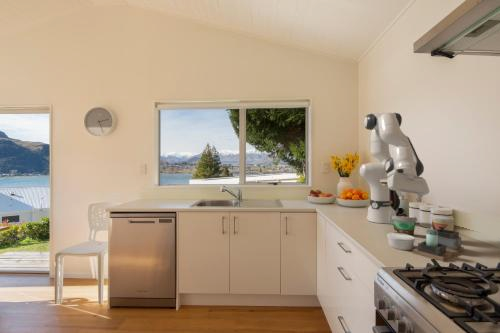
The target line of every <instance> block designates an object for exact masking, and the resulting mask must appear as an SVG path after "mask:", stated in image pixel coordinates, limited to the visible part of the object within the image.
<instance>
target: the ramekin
mask: <svg viewBox="0 0 500 333" xmlns="http://www.w3.org/2000/svg"><path fill="white" fill-rule="evenodd" d="M386 237H387V241H388V245H389V246H390V248H393V249H395V248H396V250H401V251H411V250H413V248H414V244H415V242H416V241H415V240H416V238H415V237H414V235H413V236H410V235H407V234H402V233H394V232H389V233H387V234H386Z"/></svg>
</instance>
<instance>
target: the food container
mask: <svg viewBox="0 0 500 333" xmlns="http://www.w3.org/2000/svg"><path fill="white" fill-rule="evenodd" d="M392 219H393V224H392V225H393V233H402V234H407V235H410V236H413V237H414V235H415V229H416V222H418V218H417V216H415V217H408V216H398V215H396V216H394V215H393V216H392Z"/></svg>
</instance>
